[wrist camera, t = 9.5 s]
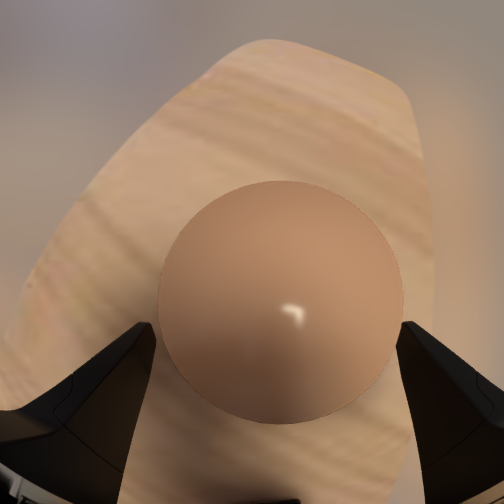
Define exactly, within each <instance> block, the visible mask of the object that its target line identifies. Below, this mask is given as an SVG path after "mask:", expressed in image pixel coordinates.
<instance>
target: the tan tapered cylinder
mask: <svg viewBox="0 0 504 504" xmlns="http://www.w3.org/2000/svg"><path fill="white" fill-rule="evenodd" d="M403 302H404V297H403V287H402V280H401V276H400V271H399V267H398V264H397V262H396V259H395V256H394V254H393V252H392V250H391V248H390V246H389V244H388V242H387V240H386V239H385V237H384V236H383V234H382V233H381V231H380V230H379V229H378V227H377V226H376V225H375V224H374V223H373V221H372V220H371V219H370V218H369V217H368V216H367V215H366V214H365V213H364V212H362V211H361V210H360V209H359V208H358V207H357V206H355V205H354V204H352V203H351V202H349V201H348V200H346V199H345V198H343V197H341V196H339V195H337V194H335V193H333V192H331V191H329V190H326V189H324V188H321V187H318V186H315V185H310V184H306V183H301V182H292V181H269V182H262V183H256V184H252V185H248V186H244V187H241V188H239V189H236V190H234V191H231V192H229V193H227V194H225V195H223V196H221V197H219V198H218V199H216V200H214V201H213V202H211V203H210V204H209V205H207V206H206V207H204V208H203V209H202V210H201V211H200V212H199V213H197V214H196V215H195V216H194V217H193V218H192V219H191V220H190V221H189V222H188V224H187V225H186V226H185V227H184V229H183V230H182V231H181V232H180V234H179V235H178V237H177V239H176V240H175V242H174V243H173V245H172V247H171V249H170V251H169V253H168V256H167V258H166V260H165V263H164V267H163V270H162V273H161V277H160V283H159V289H158V316H159V324H160V328H161V333H162V337H163V340H164V343H165V345H166V348H167V350H168V353H169V355H170V357H171V359H172V361H173V362H174V364H175V366H176V368H177V369H178V371H179V372H180V373H181V375H182V376H183V377H184V379H185V380H186V381H187V382H188V384H189V385H190V386H191V387H192V388H193V389H194V390H195V391H196V392H197V393H198V394H200V395H201V396H202V397H203V398H205V399H206V400H207V401H209V402H210V403H211V404H213V405H215V406H216V407H218V408H220V409H222V410H224V411H225V412H227V413H230V414H232V415H235V416H237V417H240V418H243V419H246V420H250V421H255V422H259V423H267V424H295V423H300V422H306V421H311V420H314V419H317V418H320V417H323V416H326V415H329V414H331V413H333V412H335V411H337V410H339V409H341V408H343V407H344V406H346V405H347V404H349V403H350V402H352V401H353V400H354V399H356V398H357V397H358V396H360V395H361V394H362V393H363V392H364V391H365V390H366V389H367V388H368V387H369V386H370V385H371V384H372V383H373V382H374V381H375V379H376V378H377V377H378V376H379V375H380V373H381V372H382V370H383V369H384V367H385V365H386V364H387V362H388V361H389V359H390V357H391V354H392V352H393V350H394V348H395V346H396V343H397V339H398V336H399V333H400V329H401V324H402V317H403Z"/></svg>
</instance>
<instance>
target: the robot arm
mask: <svg viewBox="0 0 504 504" xmlns="http://www.w3.org/2000/svg"><path fill="white" fill-rule="evenodd" d="M155 348H156V337H155V334H154V331H153V328H152V325H151V324H150V323H149V322H138V323H137V324H135V325H134V326H133V327H132V328H130V329H129V330H128V331H126V332H125V333H124V334H122V335H121V336H120V337H118V338H117V339H116V340H115V341H113V342H112V343H111V344H109V345H108V346H107V347H105V348H104V349H103V350H102V351H100V352H99V353H98V354H96V355H95V356H94V357H92V358H91V359H90V360H89V361H87V362H86V363H85V364H83V365H82V366H81V367H80V368H78V369H77V370H76V371H74V372H73V374H70V375H69V376H68V377H67V378H65V379H64V380H63V381H61V382H60V383H59V384H57V385H56V386H55V387H53V388H52V389H50V390H49V391H47V392H46V393H44V394H42V395H41V396H39V397H38V398H36V399H35V400H33V401H31V402H30V403H28V404H27V405H25V406H23V407H22V408H19V409H16V410H11V411H4V410H0V504H117V501H118V496H119V491H120V487H121V482H122V478H123V473H124V469H125V465H126V461H127V457H128V453H129V449H130V445H131V441H132V437H133V434H134V430H135V426H136V423H137V419H138V416H139V412H140V409H141V405H142V402H143V399H144V395H145V392H146V389H147V385H148V382H149V378H150V373H151V368H152V363H153V358H154V353H155ZM396 350H397V356H398V361H399V367H400V373H401V378H402V382H403V386H404V390H405V393H406V397H407V401H408V405H409V409H410V414H411V418H412V422H413V427H414V432H415V436H416V441H417V447H418V452H419V458H420V463H421V470H422V479H423V486H424V495H425V504H504V391H502V390H501V389H500V388H498V387H497V386H495V385H494V384H493V383H491V382H490V381H489V380H487V379H486V378H485V377H484V376H482V375H481V374H480V373H479V372H477V371H476V370H475V369H474V368H473V367H471V366H470V365H469V364H468V363H466V362H465V361H464V360H462V359H461V358H460V357H459V356H458V355H456V354H455V353H454V352H452V351H451V350H450V349H449V348H447V347H446V346H445V345H444V344H442V343H441V342H439V341H438V340H437V339H436V338H434V337H433V336H432V335H431V334H429V333H428V332H427V331H425V330H424V329H423V328H421V327H420V326H419V325H417V324H416V323H415V322H413V321H405V322H402V324H401V329H400V333H399V336H398V339H397V343H396ZM263 504H301V502H300V501H299V500H291V501H283V502H275V503H274V502H273V503H263Z"/></svg>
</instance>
